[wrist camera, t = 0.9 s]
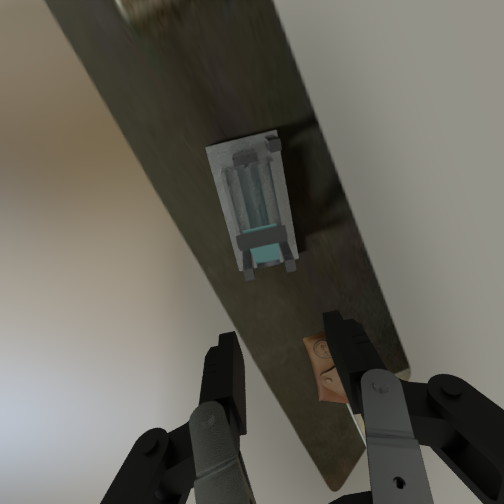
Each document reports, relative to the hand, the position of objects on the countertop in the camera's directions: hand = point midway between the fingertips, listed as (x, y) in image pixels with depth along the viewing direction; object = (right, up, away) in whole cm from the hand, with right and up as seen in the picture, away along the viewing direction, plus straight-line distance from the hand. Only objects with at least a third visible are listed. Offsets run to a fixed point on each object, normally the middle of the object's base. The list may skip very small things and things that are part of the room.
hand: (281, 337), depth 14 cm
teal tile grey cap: (0, +5, +19) cm, 19 cm away
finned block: (-1, +11, +27) cm, 29 cm away
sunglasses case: (+14, -17, +42) cm, 47 cm away
